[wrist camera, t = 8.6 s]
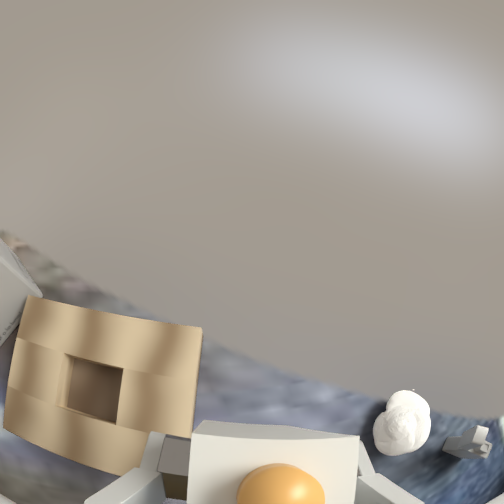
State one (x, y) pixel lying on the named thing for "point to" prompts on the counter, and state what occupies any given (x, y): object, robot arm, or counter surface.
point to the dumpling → (402, 424)
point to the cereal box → (13, 291)
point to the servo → (270, 465)
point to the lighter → (469, 444)
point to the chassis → (100, 383)
